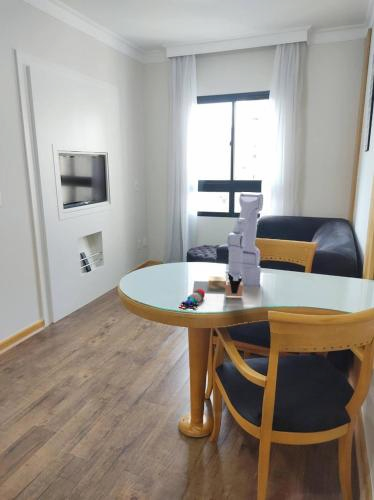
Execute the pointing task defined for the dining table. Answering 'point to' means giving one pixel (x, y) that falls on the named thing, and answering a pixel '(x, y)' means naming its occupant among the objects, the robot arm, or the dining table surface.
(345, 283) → the dining table surface
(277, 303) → the dining table surface
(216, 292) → the build plate
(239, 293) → the terracotta brick
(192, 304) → the toy figure
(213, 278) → the oak brick
